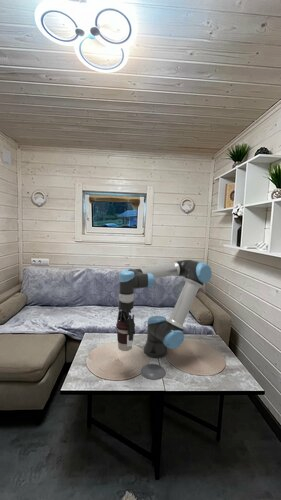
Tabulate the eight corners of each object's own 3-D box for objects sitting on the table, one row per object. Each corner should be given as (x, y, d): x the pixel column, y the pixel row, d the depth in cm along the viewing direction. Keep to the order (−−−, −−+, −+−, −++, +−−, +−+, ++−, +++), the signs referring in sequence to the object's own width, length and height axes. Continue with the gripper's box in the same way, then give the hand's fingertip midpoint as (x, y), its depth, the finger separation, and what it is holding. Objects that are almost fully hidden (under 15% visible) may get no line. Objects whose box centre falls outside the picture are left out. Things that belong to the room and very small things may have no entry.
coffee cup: (125, 355, 126) (125, 326, 125) (111, 348, 133) (112, 321, 131) (138, 348, 134) (138, 321, 132) (124, 341, 140) (125, 316, 139)
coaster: (136, 368, 142) (136, 367, 142) (156, 362, 149) (156, 361, 149) (148, 382, 130) (148, 381, 130) (170, 375, 136) (170, 374, 136)
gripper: (111, 295, 138) (110, 334, 141) (129, 308, 119) (128, 352, 121) (123, 294, 142) (122, 331, 144) (143, 306, 123) (141, 349, 125)
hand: (125, 341), depth 133 cm, fingers closed on coffee cup, 10 cm apart
